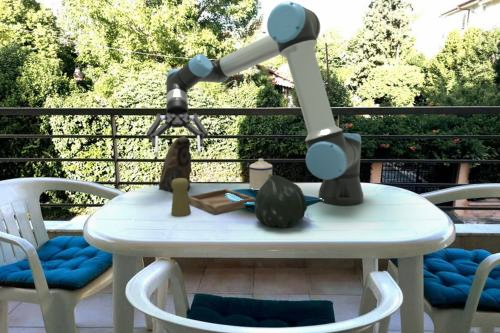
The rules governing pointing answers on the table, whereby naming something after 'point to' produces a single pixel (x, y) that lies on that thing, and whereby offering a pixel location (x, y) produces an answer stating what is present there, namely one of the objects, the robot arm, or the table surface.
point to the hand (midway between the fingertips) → (178, 154)
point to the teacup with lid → (259, 173)
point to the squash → (280, 203)
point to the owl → (176, 164)
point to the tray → (218, 201)
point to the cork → (180, 198)
